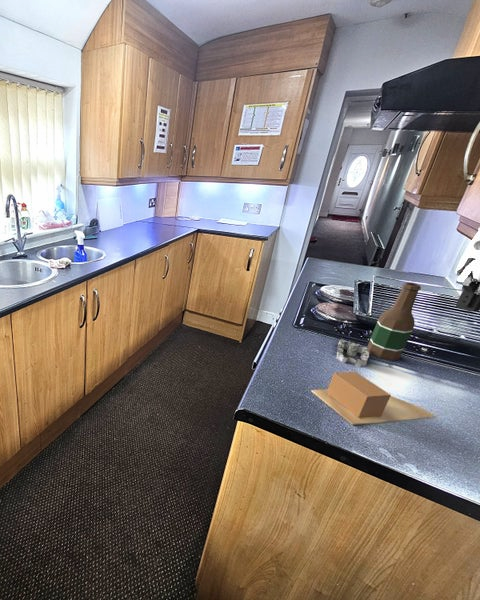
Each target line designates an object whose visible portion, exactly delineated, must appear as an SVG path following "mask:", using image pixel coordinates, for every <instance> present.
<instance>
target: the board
mask: <svg viewBox="0 0 480 600" xmlns="http://www.w3.org/2000/svg"><path fill="white" fill-rule="evenodd" d="M327 390H328V388H324V389H312V390H311V391H310V392H311V393H313V394H314V395H315V396H316V397H317V398H319V399H320V400H321V401H322V402H323V403H325V404H326V405H327V406H329V408H331V409H332V410H333V411H334V412H336V413H337V414H338V415H339V416H341V417H342V419H344V420H345V421H346V422H348V423H349V424H350V425H351V426H359V425H370V424H371V425H372V424H382V423H395V422H402V421H413V420H423V419H429V418H437V417H438V416H437V415H435V414H433V413H432V412H430V411H429V410H427V409H425V408H424V407H422V406H418V405H416V404H413V403H411V402H409V401H406V400H403V399H400V398H398V397H395V396H392V395H391V396H390V398H389V400H388V403H387V405H386V407H385V409H384V411H383V413H382V415H381V416H374V417H361V418H358V417H357V416H356V415H354V414H353V413H352V412H350V411H349V410H348V409H347V408H345V407H344V406H342V405H341V404H340V403H338V402H337V400H335V399H334V398H333V397H331V396H330V395H329V394H328V393H327Z"/></svg>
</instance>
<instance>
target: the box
mask: <svg viewBox="0 0 480 600" xmlns="http://www.w3.org/2000/svg"><path fill="white" fill-rule="evenodd" d="M327 389H328V390H327V393H328V394H329V395H330V396H331V397H333V398H334V399H335V400H337V402H338V403H340V404H341V405H342V406H344V407H345V408H347V409H348V410H349V411H350V412H352V413H353V414H354V415H356V416H357V417H358V418H361V417H374V416H381V415H382V413H383V411H384V409H385V407H386V405H387V403H388V400H389V398H390V396H392V394H391V393H389V392H387V391H386V390H384V389H382V388H381V387H380V386H378V385H376V384H375V383H374V382H372V381H371V380H369V379H367V378H366V377H364V376H363V375H361V374H359V373H358V372H357V371H347V372H346V371H345V372H333V375H332V378H331V380H330V383H329V385H328V388H327Z"/></svg>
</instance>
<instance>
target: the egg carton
mask: <svg viewBox="0 0 480 600" xmlns="http://www.w3.org/2000/svg"><path fill="white" fill-rule="evenodd" d="M344 350H346V353H345V355H347V356H348V357H346V356H345V355H344ZM358 353H359V354H360V356H359V358H357V359H354V358H352V357H356V356H357V354H358ZM335 358H336V360H338V361H340V362H341V363H343V364H344V363H345V364H346V363H351V364H353V365H354V366H355V367H358V368H360V367H366V366H367V363H368V359H369V358H370V354H369V352H368V351H367V346H364V347H363V346H361V344H360V343H357V344H356V343H355V342H352V341H348V340H345V339H343V338H340V340H339V342H338V343H337V347H336V357H335Z"/></svg>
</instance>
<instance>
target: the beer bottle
mask: <svg viewBox="0 0 480 600" xmlns="http://www.w3.org/2000/svg"><path fill="white" fill-rule="evenodd" d="M421 289H422V286H421V285H420V284H418V283H415V282H404V283H403V284H402V288H401V290H400V292H399V294H398V296H397V297H396V299H395V302H394V304H393V305H392V306H391V307H390V308H388V309H386V310H385V311H384V312H383V313H382V314H381V315H380V316H379V318H378V320H377V322H376V324H375V327H374V329H373V331H372V334H371V337H370V339H369V341H368V344H367V346H366V348H367V351H368V352H369V355H372V356H373V357H375V358H377V359H380V360H385V361H390V362H394V361H398V360H400V358H401V357H402V354H403V352H404V350H405V348H406V345H407V344H408V342H409V340H410V337H411V335H412V333H413V330H414V327H415V325H416V323H415V318H414V315H413V313H412V312H413V308H414V304H415V301H416V298H417V296H418V293H419V291H421Z"/></svg>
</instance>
